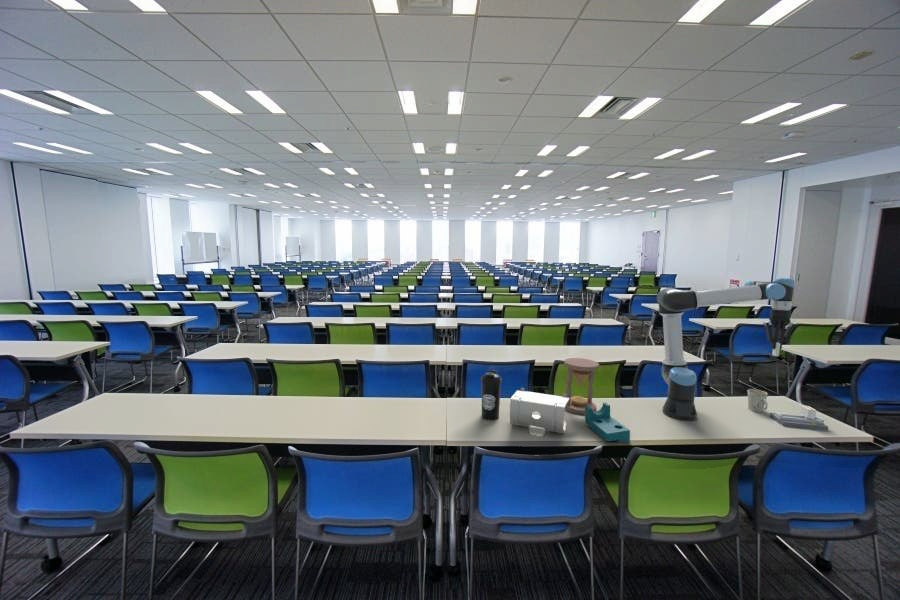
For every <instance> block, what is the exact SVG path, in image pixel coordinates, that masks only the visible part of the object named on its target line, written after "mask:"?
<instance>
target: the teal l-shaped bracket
mask: <svg viewBox="0 0 900 600" xmlns="http://www.w3.org/2000/svg"><path fill="white" fill-rule="evenodd" d="M584 415H585V416H584V417H585V418H584V420H585V422H584V423H585V425H587V426H588V427H589V428H590V429H591V430H593V431H594V432H595V433H596V434H598V435H599V436H600V437H601V438H603V440H605V441H606V442H612V441H613V442H614V441H616V442H617V443H620V444H621V443H627V442H630V441H631V430H630V429H629V428H627V427H626V425H624V424H622V423H621V422H620V421H618V420H617V419H615V418H614V417H612V416H611V405H610V404H609V403H608V402H607V401H606V402H602V406H601V408H600V409H599V410H596V412H593V411H592V408H591V407H590V406H588V405H585V414H584Z"/></svg>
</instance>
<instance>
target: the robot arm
mask: <svg viewBox="0 0 900 600" xmlns="http://www.w3.org/2000/svg"><path fill="white" fill-rule="evenodd" d="M794 291H795V279H793V278H791V277H789V278H786V277H776V278H774V280H773V281H759V280H758V281H757V280H755V281H752V280H751V281H746V282H745V283H744V284H743V286H742V285H741V286H733V287H725V288H717V289H709V290H708V289H706V290H701V291H699V290H698V291H697V290H695V289H690V290H686V289H685V290H684V289H683V290H682V289H677V288H675V287H666V288H663V289H661V290H660V291H659V292H658V294H657V296H656V303H657V304H658V310H659V311H658V313H659V315H661V316H662V324H663V325H662V327H663V340H664V341H663V342H664V343H663V345H664V346H663V347H664V356H665V357H664V360H662V361H661V363H662V367H661V371H660V372H661V377H662V379H663V381H664V382H665V383H666V384H667V385H668V387H667V397H666V399H665V402H664V404H663V406H662V413H664V415H665V416H668V417H671V418H673V419H677V420H680V421H681V420H682V421H694V420H697V418H698V412H697V408H696V404H695V397H696V395H695V394H696V385H697V381H698V380H697V374H696V372H695V371H693V370H692V369H689V368H688V362H687V361H686V360H685V359H684V346H683V344H684V343H683V342H684V341H683V327H682V315H683V314H684V313H685V311H691V310H697V309H699V308H700V307H710V306H715V305H725V304H735V303H737V304H738V303H744V302H753V301H765V300H771V308H772V309H770V315H769V316H770V317H769V318H768V320H767V321H763V323H762V324H763V325H764V329H765V333H766V334H765V335H766V339H767V341H769V342H771V343H770V344H771V345H770V348H771V349H772V355H771V356H775V357H780V350H782V347H783V344H784V343H788V341H789V338H790V337H791V334H792V332H793V330H794V328H795V327H796V325H797V324H796V323H793V322H792V321H791V314H792V311H791V310H792V305H793V296H794Z"/></svg>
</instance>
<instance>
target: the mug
mask: <svg viewBox="0 0 900 600" xmlns="http://www.w3.org/2000/svg"><path fill="white" fill-rule="evenodd" d="M767 398H768V392H767V391H764V390H761V389H756V388H749V389H747V407H748V410H751V411H752V412H759V413H761V412H764V411H767V410H768V407H769V406H768V401H767Z"/></svg>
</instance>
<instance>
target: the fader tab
mask: <svg viewBox="0 0 900 600" xmlns="http://www.w3.org/2000/svg"><path fill="white" fill-rule="evenodd" d="M800 415H803V418H805V419H815V416H817V409H815V408H813V407H811V406H809V405H807V404H806V405H801V409H800Z"/></svg>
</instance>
